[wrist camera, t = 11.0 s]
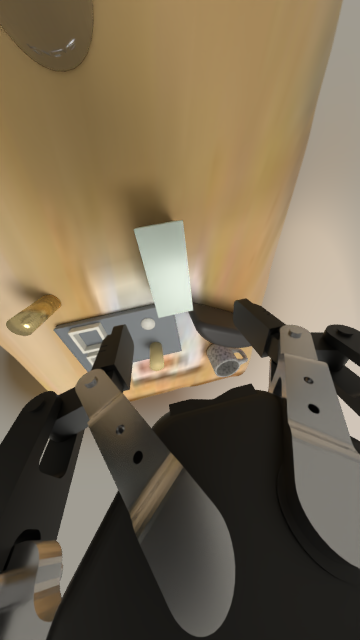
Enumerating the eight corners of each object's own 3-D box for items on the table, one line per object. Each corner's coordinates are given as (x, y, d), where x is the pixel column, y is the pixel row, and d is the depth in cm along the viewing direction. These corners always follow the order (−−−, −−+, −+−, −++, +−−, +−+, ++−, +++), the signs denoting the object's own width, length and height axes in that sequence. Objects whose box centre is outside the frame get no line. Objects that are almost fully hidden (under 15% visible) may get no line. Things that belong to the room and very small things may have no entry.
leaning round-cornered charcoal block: (180, 316, 35) (189, 343, 27) (187, 299, 33) (199, 323, 25) (236, 328, 40) (257, 354, 32) (245, 314, 38) (270, 337, 30)
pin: (37, 297, 27) (0, 322, 20) (53, 292, 27) (21, 316, 20) (49, 310, 29) (18, 337, 22) (64, 306, 29) (37, 332, 22)
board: (57, 325, 30) (33, 351, 24) (171, 300, 32) (176, 319, 26) (90, 368, 38) (79, 396, 32) (180, 346, 40) (186, 369, 34)
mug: (206, 359, 45) (214, 379, 39) (206, 343, 41) (215, 362, 36) (237, 354, 46) (249, 371, 40) (240, 337, 42) (254, 354, 37)
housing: (138, 227, 24) (133, 229, 16) (172, 221, 24) (182, 220, 17) (156, 294, 31) (158, 318, 23) (182, 289, 31) (193, 310, 24)
